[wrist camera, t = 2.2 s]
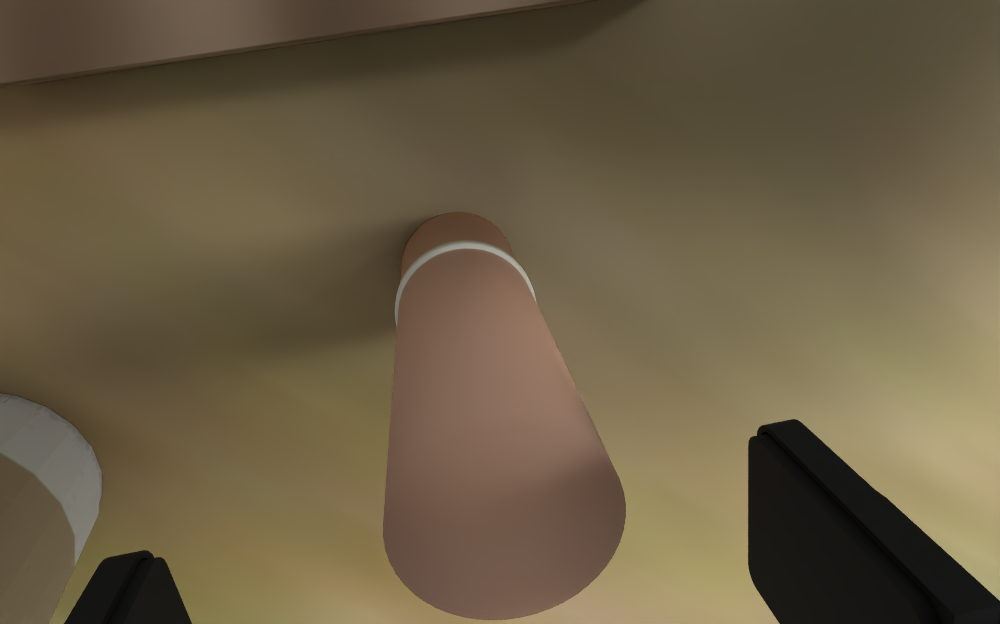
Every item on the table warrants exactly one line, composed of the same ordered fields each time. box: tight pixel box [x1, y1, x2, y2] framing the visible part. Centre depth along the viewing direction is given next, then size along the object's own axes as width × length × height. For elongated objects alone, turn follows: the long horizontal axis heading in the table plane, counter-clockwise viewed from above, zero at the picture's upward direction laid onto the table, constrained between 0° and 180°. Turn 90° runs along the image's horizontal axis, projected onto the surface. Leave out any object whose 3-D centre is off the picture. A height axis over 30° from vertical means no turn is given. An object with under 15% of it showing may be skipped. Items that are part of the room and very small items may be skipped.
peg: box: [383, 212, 626, 620], centre depth 17 cm, size 4×4×14 cm
